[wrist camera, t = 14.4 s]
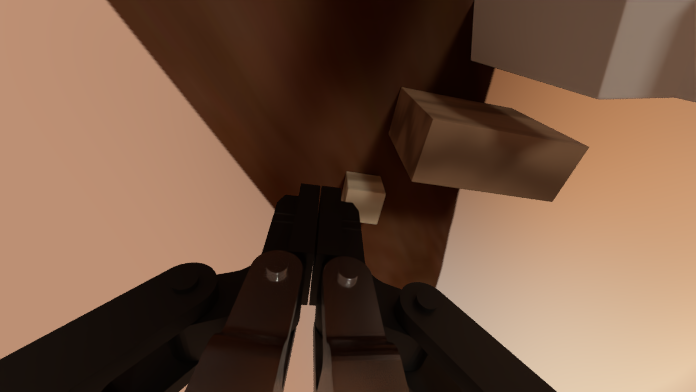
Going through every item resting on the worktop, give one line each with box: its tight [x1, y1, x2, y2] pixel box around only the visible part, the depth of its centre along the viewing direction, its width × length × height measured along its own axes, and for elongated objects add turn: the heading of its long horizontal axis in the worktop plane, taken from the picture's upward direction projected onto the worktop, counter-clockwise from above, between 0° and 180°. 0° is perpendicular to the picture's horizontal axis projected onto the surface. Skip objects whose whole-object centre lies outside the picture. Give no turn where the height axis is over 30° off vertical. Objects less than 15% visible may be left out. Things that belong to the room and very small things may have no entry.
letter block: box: [341, 171, 386, 224], centre depth 40 cm, size 5×5×5 cm
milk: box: [471, 0, 696, 102], centre depth 22 cm, size 6×6×22 cm
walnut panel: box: [389, 87, 589, 202], centre depth 32 cm, size 6×15×13 cm, turn 79°
